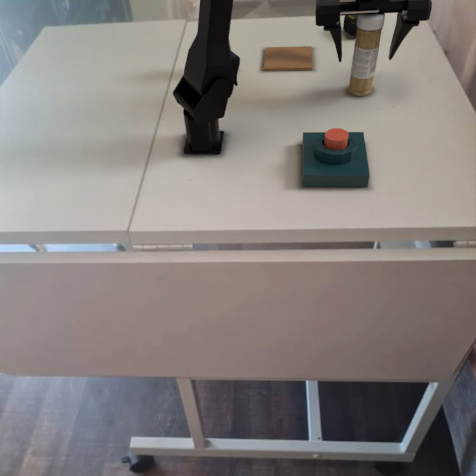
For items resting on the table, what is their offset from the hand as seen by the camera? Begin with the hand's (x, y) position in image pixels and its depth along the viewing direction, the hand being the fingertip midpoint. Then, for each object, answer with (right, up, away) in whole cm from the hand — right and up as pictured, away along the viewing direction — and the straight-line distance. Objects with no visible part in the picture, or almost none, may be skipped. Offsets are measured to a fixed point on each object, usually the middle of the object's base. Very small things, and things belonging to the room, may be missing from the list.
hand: (364, 60), depth 88 cm
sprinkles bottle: (0, -4, +5) cm, 6 cm away
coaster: (-13, +8, +14) cm, 21 cm away
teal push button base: (-8, -22, -10) cm, 26 cm away
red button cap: (-8, -20, -13) cm, 25 cm away
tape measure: (+4, +17, +20) cm, 26 cm away
